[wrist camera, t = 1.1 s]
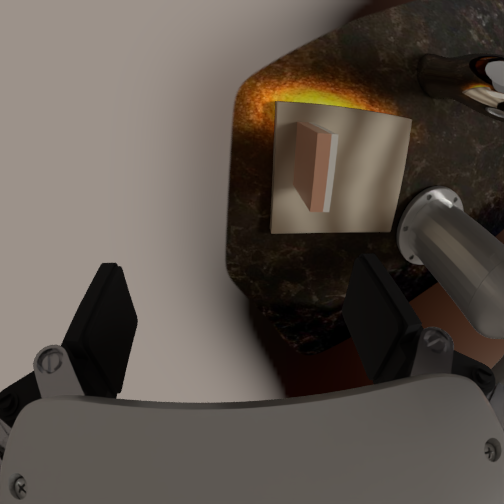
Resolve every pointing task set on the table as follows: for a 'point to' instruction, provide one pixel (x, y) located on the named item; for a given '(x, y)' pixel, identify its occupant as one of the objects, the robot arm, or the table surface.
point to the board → (341, 169)
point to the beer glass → (466, 81)
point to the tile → (315, 165)
